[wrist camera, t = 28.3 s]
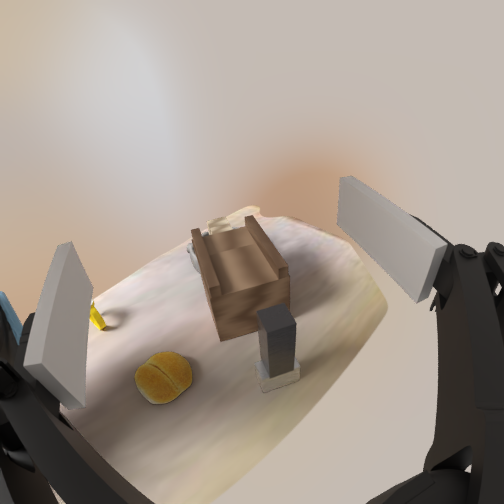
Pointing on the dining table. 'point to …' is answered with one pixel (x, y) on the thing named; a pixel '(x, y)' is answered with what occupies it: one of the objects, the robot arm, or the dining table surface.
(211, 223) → the cream square block
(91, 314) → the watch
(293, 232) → the dining table surface
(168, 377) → the bread roll
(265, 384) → the dark gray upright block
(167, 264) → the dining table surface
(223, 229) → the cream block
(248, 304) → the slot board
